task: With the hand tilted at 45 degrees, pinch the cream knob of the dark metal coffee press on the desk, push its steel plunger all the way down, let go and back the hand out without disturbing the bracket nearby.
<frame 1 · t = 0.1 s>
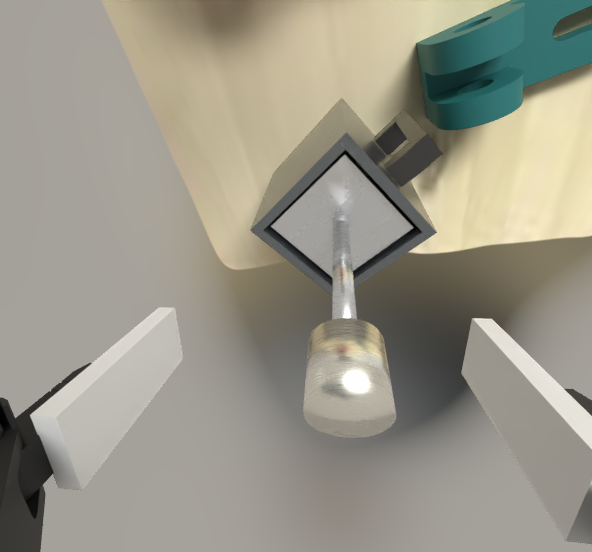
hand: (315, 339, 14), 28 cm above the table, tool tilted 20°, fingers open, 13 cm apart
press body: (338, 172, 37), on the table
plunger: (343, 288, 20), point 21 cm above the table, slide at 0.0 cm
bracket: (523, 39, 28), on the table
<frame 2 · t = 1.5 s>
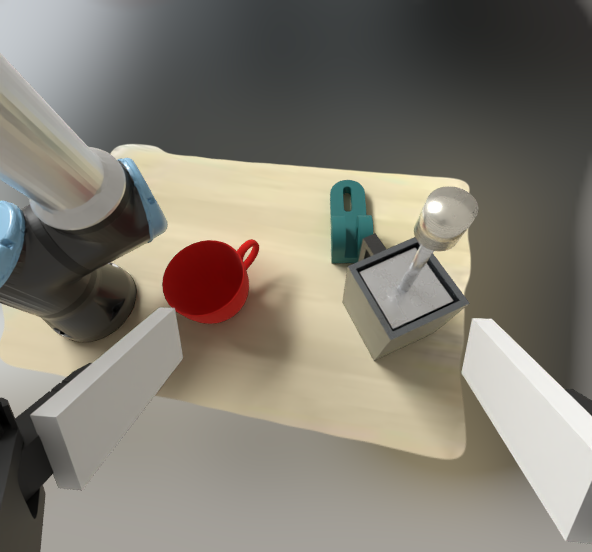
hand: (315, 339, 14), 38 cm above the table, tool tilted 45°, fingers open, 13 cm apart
ceramic cup: (231, 292, 57), on the table
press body: (386, 316, 52), on the table
plunger: (422, 256, 33), point 21 cm above the table, slide at -0.1 cm
bracket: (347, 223, 61), on the table
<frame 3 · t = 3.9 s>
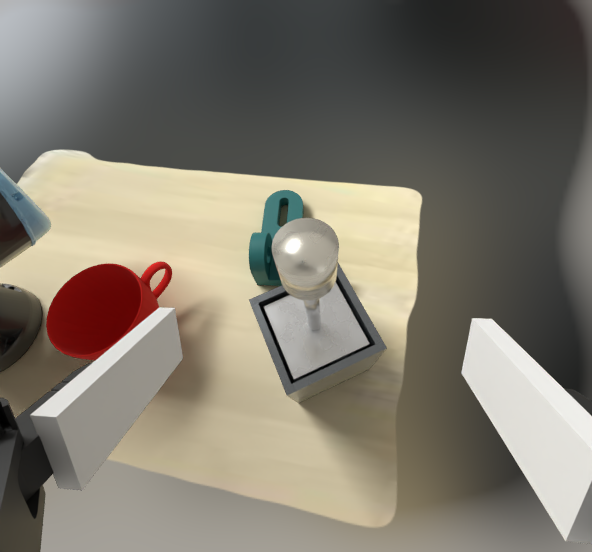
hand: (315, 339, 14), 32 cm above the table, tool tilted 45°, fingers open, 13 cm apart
ceramic cup: (147, 319, 50), on the table
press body: (317, 349, 46), on the table
plunger: (311, 297, 26), point 21 cm above the table, slide at -0.1 cm
bracket: (282, 239, 55), on the table
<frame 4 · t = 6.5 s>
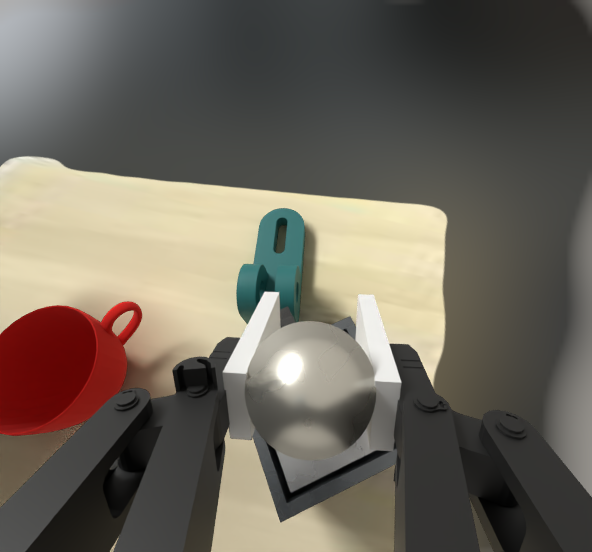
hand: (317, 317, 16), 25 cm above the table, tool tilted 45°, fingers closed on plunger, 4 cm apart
ceramic cup: (114, 366, 41), on the table
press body: (321, 412, 36), on the table
plunger: (316, 401, 17), point 21 cm above the table, slide at 0.0 cm, touching gripper
bracket: (280, 268, 46), on the table
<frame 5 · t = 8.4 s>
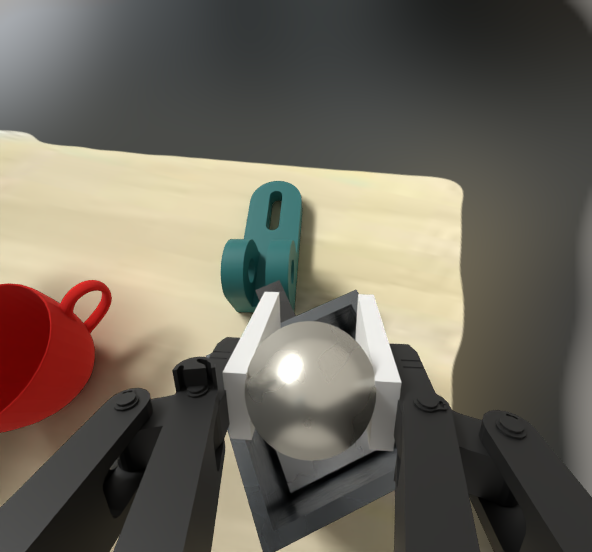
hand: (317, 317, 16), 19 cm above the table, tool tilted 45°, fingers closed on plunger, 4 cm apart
ceramic cup: (82, 358, 36), on the table
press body: (320, 410, 31), on the table
plunger: (316, 401, 17), point 15 cm above the table, slide at 5.9 cm, touching gripper
bracket: (273, 247, 40), on the table
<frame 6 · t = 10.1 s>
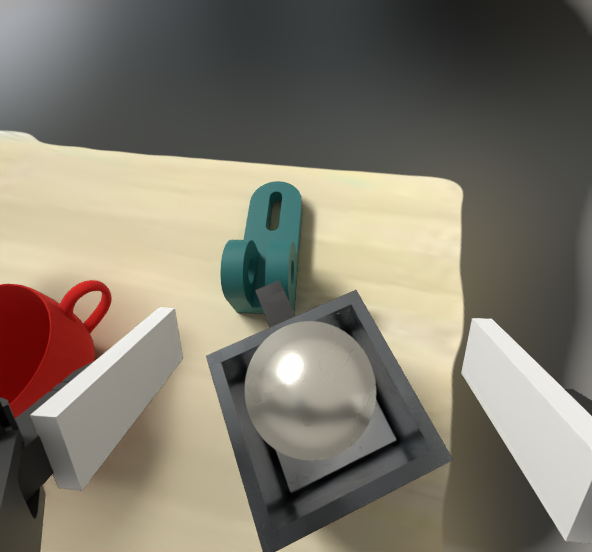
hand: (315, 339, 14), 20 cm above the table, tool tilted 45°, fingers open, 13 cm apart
ceramic cup: (82, 358, 36), on the table
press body: (320, 410, 31), on the table
plunger: (316, 401, 17), point 15 cm above the table, slide at 5.9 cm
bracket: (273, 248, 40), on the table
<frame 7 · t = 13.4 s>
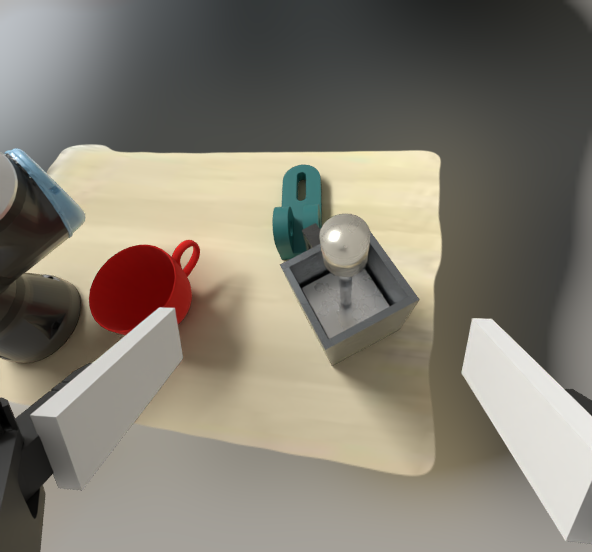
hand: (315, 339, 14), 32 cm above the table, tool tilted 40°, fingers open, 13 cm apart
ceramic cup: (179, 298, 52), on the table
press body: (346, 314, 47), on the table
plunger: (345, 276, 33), point 15 cm above the table, slide at 5.9 cm
bracket: (302, 214, 55), on the table
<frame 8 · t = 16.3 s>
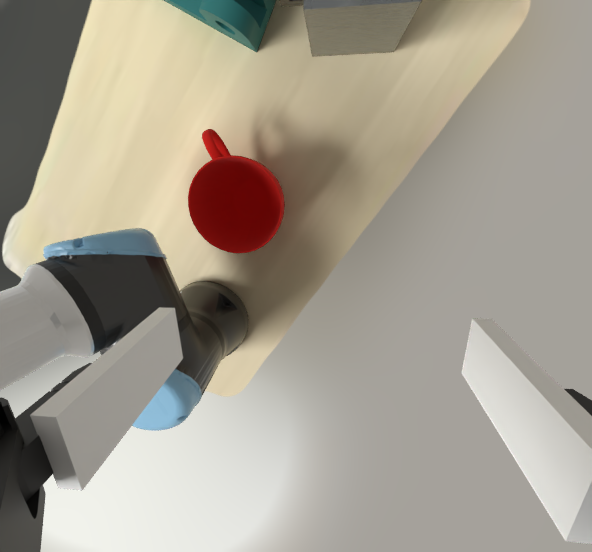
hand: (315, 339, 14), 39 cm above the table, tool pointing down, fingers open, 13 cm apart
ceramic cup: (247, 187, 50), on the table
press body: (354, 4, 41), on the table
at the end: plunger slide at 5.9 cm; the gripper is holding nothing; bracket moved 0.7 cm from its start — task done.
